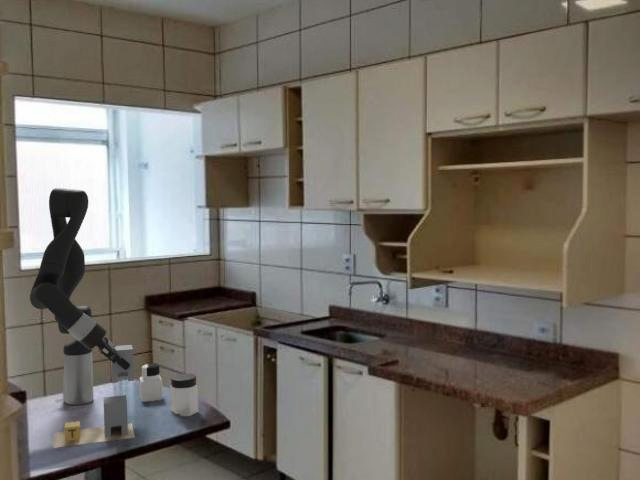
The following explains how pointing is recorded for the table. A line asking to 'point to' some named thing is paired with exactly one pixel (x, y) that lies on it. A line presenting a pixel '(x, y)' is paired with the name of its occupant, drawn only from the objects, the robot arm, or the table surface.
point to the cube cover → (117, 370)
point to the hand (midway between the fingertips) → (127, 364)
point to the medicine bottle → (151, 383)
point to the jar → (184, 394)
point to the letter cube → (72, 431)
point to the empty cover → (115, 414)
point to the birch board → (92, 436)
